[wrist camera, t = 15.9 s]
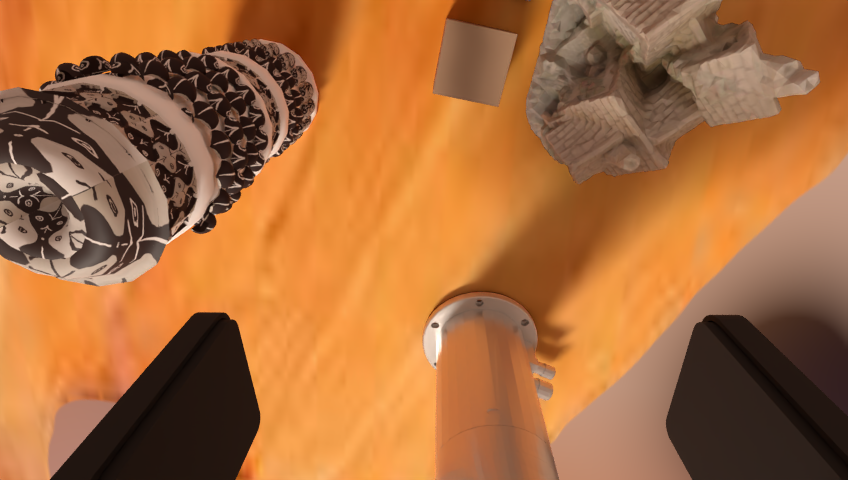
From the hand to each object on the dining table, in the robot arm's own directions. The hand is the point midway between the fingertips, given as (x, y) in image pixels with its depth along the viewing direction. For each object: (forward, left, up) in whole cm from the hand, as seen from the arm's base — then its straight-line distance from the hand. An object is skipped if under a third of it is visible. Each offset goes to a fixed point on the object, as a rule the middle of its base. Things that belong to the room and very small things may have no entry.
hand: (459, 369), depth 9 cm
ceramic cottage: (-10, -9, -32) cm, 35 cm away
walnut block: (0, -4, -32) cm, 32 cm away
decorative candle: (+14, +6, -32) cm, 35 cm away
